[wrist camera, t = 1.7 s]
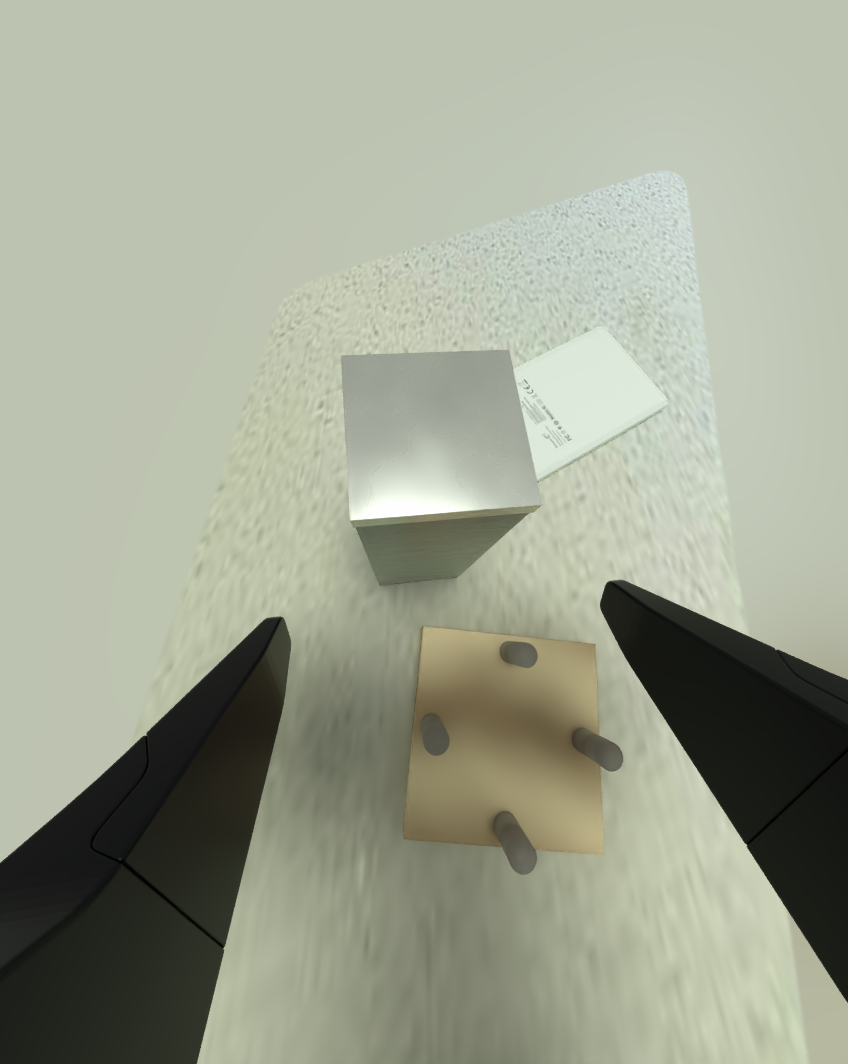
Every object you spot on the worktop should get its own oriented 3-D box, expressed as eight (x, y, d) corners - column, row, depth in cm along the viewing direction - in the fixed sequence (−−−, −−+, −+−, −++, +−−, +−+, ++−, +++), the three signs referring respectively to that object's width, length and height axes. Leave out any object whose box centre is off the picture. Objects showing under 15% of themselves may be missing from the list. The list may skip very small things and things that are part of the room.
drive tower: (457, 578, 21) (542, 504, 9) (379, 586, 21) (350, 520, 8) (447, 504, 23) (509, 349, 10) (373, 510, 22) (341, 354, 10)
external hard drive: (655, 415, 27) (529, 489, 24) (590, 339, 28) (465, 400, 26) (671, 402, 25) (538, 479, 22) (601, 322, 27) (470, 386, 24)
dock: (592, 842, 18) (637, 891, 15) (403, 827, 18) (404, 874, 14) (586, 643, 21) (622, 646, 17) (422, 626, 20) (427, 625, 17)
